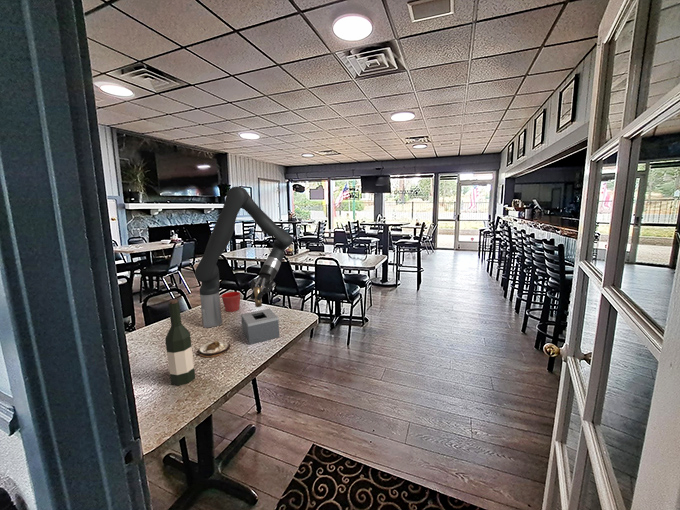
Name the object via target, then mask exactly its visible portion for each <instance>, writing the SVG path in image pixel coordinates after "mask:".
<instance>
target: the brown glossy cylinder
mask: <svg viewBox="0 0 680 510" xmlns="http://www.w3.org/2000/svg"><path fill="white" fill-rule="evenodd" d="M260 290H261V288H260V286H259V285H258V286H257V287H254V297H255V299H254V305H255V308H261V307H262V306H263V304H262V299H261V300H260V301H258V300H257V299H256V298H257V296H258V294H259V292H260Z"/></svg>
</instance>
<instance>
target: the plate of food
mask: <svg viewBox="0 0 680 510" xmlns="http://www.w3.org/2000/svg"><path fill="white" fill-rule="evenodd" d="M229 350H232V349H231V344H230V343H229V342H227V341H225V340H220V339H218V340H212V341H208V342H207V343H204V344H203V345H201V346H200V347H199V349H198V354H199V355H200V356H201V357H203V358H208V359H212V358H216V357H219V356H222V355H224V354H227V353H228V351H229Z"/></svg>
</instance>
